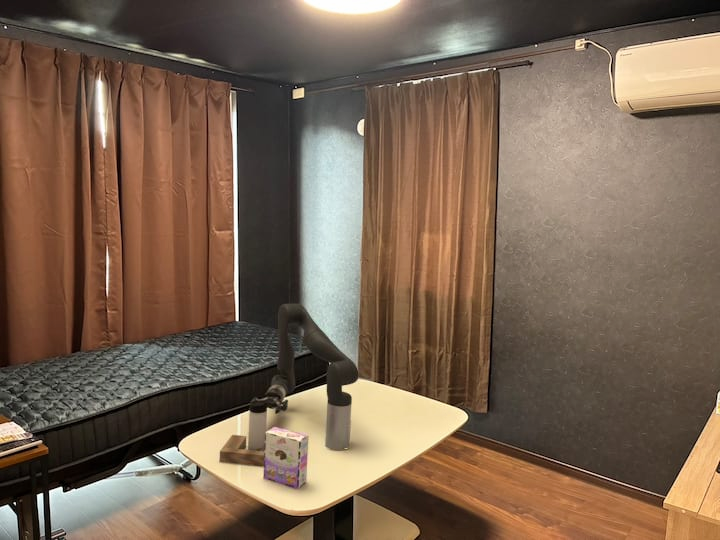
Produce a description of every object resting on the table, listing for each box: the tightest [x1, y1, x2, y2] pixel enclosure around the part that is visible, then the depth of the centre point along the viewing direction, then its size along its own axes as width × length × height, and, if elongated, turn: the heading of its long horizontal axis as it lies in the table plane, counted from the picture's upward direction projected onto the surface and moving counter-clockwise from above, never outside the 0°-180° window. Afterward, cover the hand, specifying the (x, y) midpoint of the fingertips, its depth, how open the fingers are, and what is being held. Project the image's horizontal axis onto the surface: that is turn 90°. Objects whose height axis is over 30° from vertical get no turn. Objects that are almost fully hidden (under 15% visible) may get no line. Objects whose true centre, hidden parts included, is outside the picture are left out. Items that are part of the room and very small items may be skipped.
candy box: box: [263, 426, 310, 490], centre depth 180 cm, size 14×6×16 cm, turn 65°
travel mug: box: [247, 399, 268, 451], centre depth 197 cm, size 6×7×20 cm
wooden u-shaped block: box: [218, 434, 264, 467], centre depth 197 cm, size 22×14×4 cm, turn 86°
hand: (265, 411), depth 207 cm, fingers open, 8 cm apart
